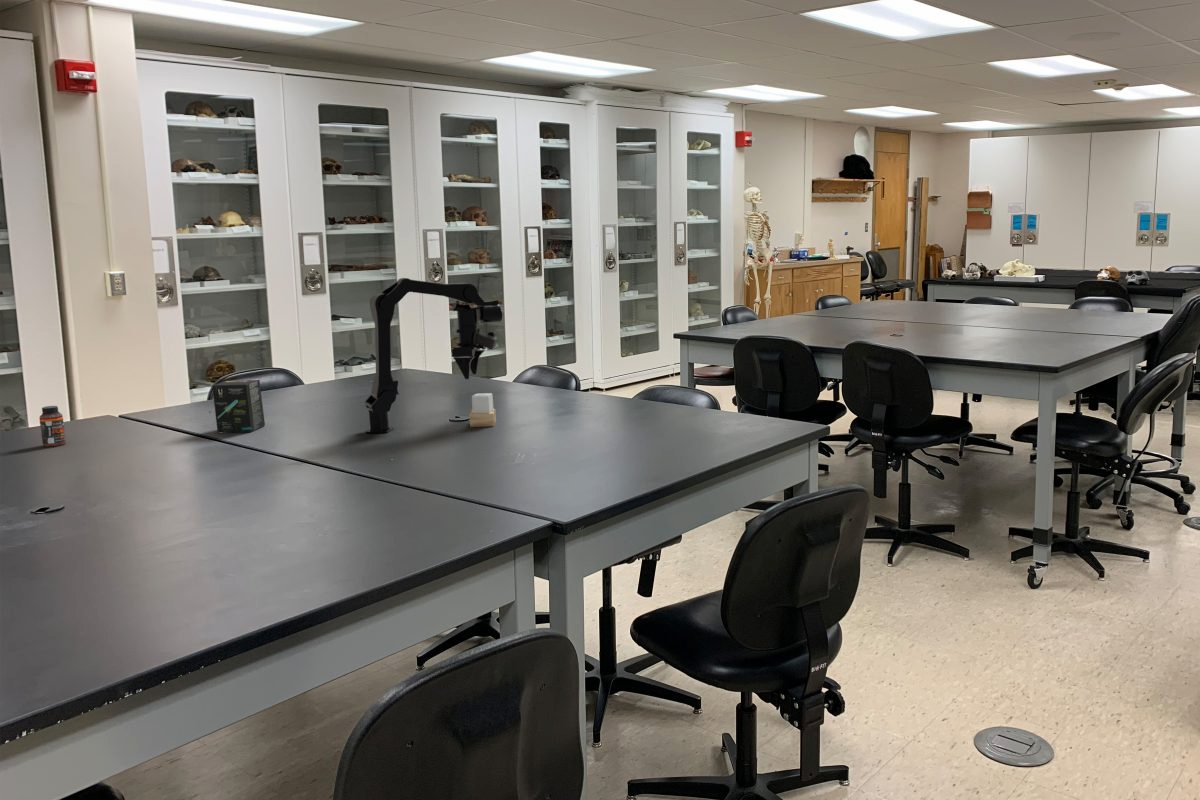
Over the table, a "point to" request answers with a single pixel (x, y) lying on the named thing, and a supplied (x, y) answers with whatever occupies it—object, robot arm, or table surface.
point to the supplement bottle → (52, 427)
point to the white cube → (482, 403)
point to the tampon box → (238, 406)
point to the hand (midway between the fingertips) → (470, 376)
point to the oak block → (482, 419)
